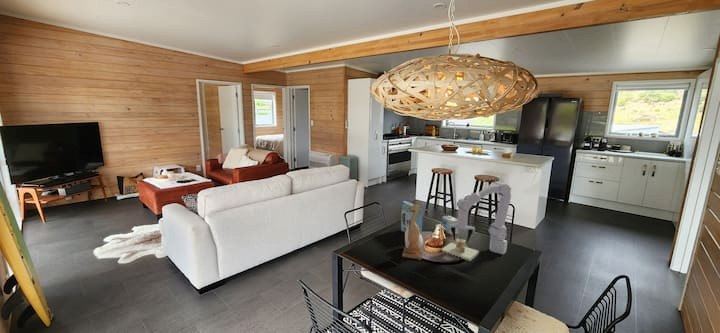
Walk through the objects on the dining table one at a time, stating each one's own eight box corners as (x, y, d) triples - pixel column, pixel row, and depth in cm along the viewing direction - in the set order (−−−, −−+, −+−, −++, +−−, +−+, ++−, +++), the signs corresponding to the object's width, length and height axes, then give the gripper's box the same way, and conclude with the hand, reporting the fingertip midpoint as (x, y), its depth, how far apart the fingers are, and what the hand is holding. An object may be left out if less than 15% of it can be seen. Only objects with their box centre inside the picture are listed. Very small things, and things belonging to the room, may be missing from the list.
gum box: (421, 241, 196) (423, 208, 192) (414, 242, 194) (416, 209, 191) (406, 231, 214) (407, 200, 210) (400, 232, 212) (401, 201, 208)
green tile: (478, 253, 181) (479, 251, 180) (470, 261, 170) (470, 258, 170) (450, 244, 192) (451, 242, 192) (440, 251, 182) (441, 249, 182)
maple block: (464, 249, 183) (465, 239, 182) (464, 252, 178) (465, 242, 177) (455, 247, 184) (456, 238, 183) (455, 251, 180) (456, 241, 179)
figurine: (424, 249, 185) (426, 226, 182) (419, 256, 175) (421, 232, 172) (407, 245, 190) (408, 222, 187) (401, 252, 180) (402, 228, 177)
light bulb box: (441, 230, 217) (442, 216, 215) (448, 229, 220) (449, 215, 218) (451, 235, 207) (452, 221, 206) (458, 234, 210) (459, 219, 209)
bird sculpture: (403, 249, 182) (405, 199, 177) (422, 251, 180) (425, 200, 175) (402, 257, 171) (404, 204, 166) (422, 260, 169) (426, 205, 164)
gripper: (475, 218, 179) (473, 239, 181) (450, 215, 184) (448, 236, 186) (475, 222, 173) (473, 244, 175) (449, 218, 177) (448, 240, 180)
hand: (460, 240), depth 180 cm, fingers open, 7 cm apart
